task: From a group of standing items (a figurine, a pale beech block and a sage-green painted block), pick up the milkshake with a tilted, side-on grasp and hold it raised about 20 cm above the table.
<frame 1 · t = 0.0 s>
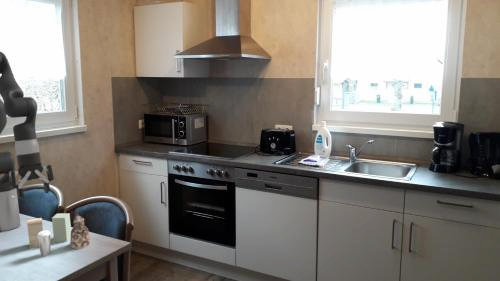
hand: (34, 195, 150), 22 cm above the table, tool pointing down, fingers open, 8 cm apart
figurine: (80, 245, 161), on the table
sage block: (62, 238, 166), on the table
beech block: (37, 245, 161), on the table
milkshake: (44, 255, 153), on the table
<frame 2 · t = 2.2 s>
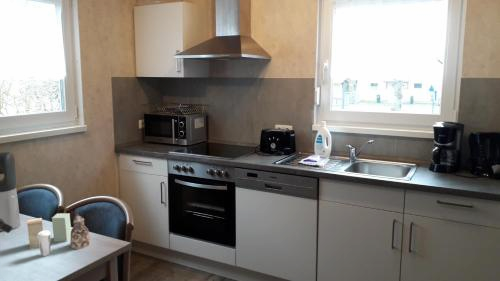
hand: (6, 226, 142), 14 cm above the table, tool tilted 45°, fingers open, 8 cm apart
nothing on the table moved.
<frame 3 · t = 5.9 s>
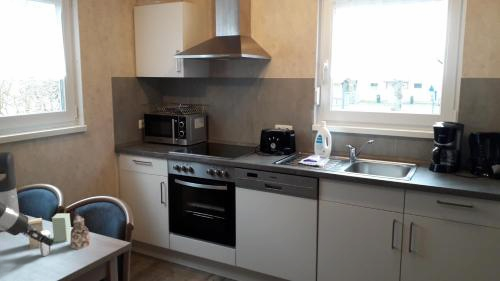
hand: (48, 241, 153), 5 cm above the table, tool tilted 45°, fingers closed on milkshake, 4 cm apart
milkshake: (44, 255, 152), on the table, touching gripper
everything else where it was.
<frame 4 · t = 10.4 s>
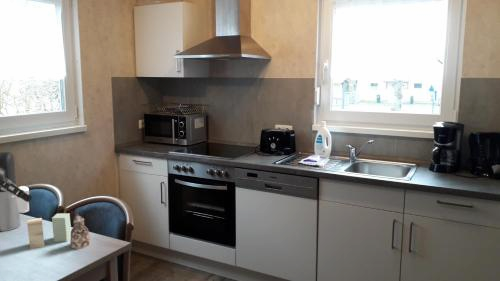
hand: (27, 198, 146), 23 cm above the table, tool tilted 45°, fingers closed on milkshake, 4 cm apart
milkshake: (22, 212, 146), point 18 cm above the table, touching gripper
everything else where it was.
at the end: the gripper is holding milkshake; milkshake point 18.1 cm above the table; figurine moved 0.2 cm from its start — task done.
